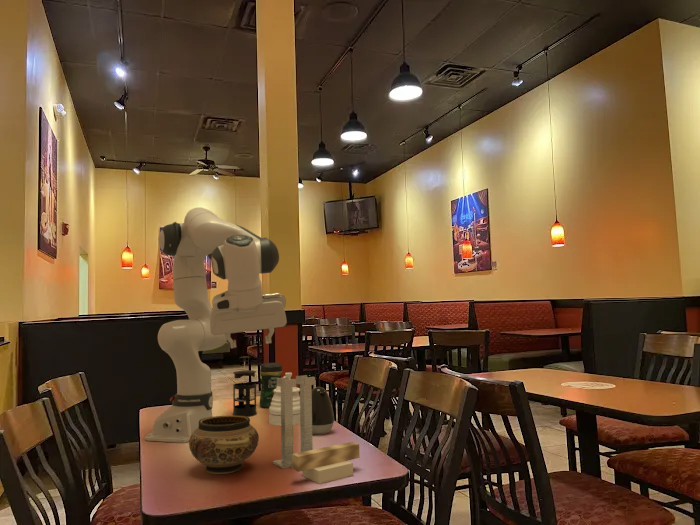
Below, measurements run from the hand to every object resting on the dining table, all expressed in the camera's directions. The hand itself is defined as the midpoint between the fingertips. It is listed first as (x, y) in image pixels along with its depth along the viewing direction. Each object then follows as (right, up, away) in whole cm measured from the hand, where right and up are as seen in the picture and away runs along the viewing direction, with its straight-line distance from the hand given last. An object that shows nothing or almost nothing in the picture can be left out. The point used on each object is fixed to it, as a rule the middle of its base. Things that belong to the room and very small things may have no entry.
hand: (251, 345), depth 140 cm
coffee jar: (-7, -40, +82) cm, 91 cm away
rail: (+21, -28, -11) cm, 37 cm away
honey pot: (+3, -37, +52) cm, 64 cm away
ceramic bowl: (-6, -33, -4) cm, 33 cm away
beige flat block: (+21, -31, -11) cm, 39 cm away
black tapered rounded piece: (+17, -35, +33) cm, 51 cm away
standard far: (+15, -32, +3) cm, 36 cm away
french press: (-15, -39, +66) cm, 78 cm away
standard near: (+10, -32, 0) cm, 34 cm away
